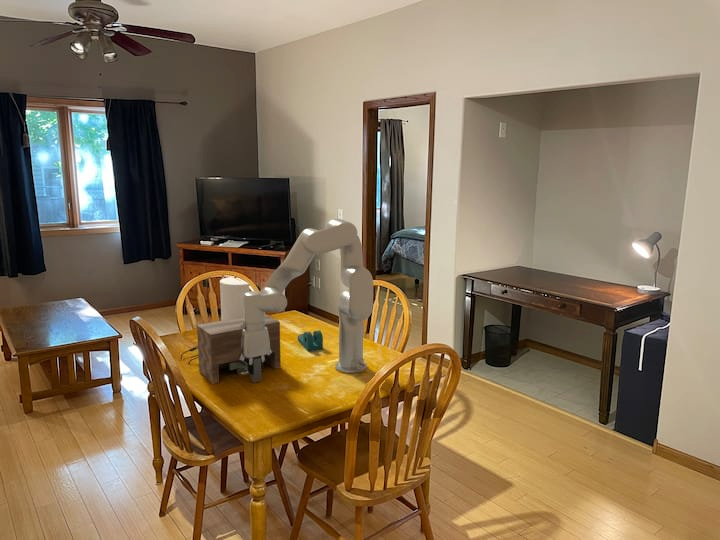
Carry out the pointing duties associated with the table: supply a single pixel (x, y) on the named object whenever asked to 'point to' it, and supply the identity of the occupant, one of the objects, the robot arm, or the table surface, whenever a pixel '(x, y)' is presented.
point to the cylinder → (232, 297)
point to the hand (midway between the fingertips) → (255, 372)
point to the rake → (243, 364)
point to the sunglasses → (191, 350)
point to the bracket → (311, 340)
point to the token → (242, 371)
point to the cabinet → (230, 345)
